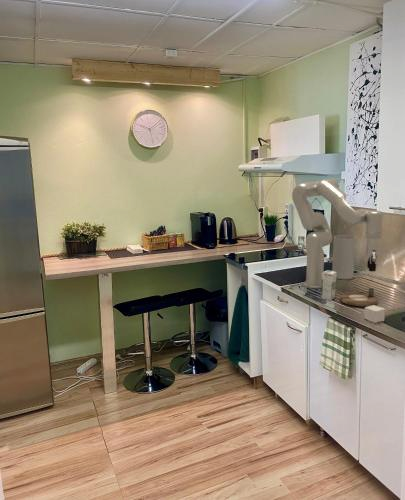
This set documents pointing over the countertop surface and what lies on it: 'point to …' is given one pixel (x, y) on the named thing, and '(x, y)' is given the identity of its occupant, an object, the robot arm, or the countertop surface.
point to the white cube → (374, 313)
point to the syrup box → (328, 285)
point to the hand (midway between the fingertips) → (371, 269)
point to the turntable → (359, 298)
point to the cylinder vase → (344, 256)
